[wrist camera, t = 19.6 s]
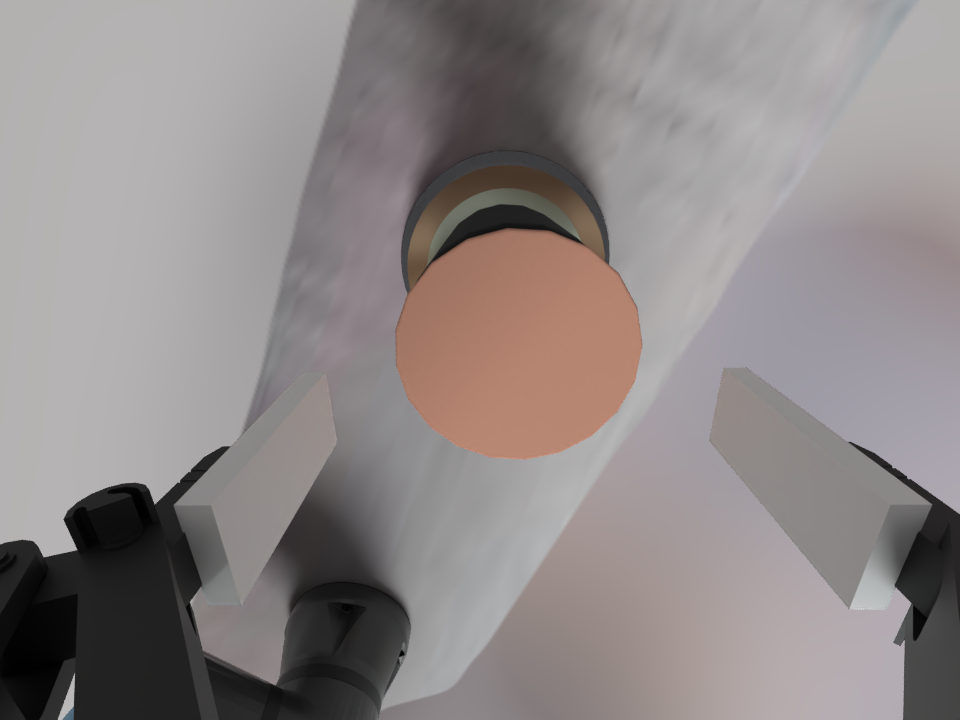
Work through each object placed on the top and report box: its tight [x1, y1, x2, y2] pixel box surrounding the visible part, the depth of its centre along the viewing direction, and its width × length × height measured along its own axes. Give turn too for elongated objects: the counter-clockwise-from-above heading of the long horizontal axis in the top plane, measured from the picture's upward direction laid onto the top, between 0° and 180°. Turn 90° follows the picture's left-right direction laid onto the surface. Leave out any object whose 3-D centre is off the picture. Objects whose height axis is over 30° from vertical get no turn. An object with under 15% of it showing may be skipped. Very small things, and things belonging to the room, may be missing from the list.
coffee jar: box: [396, 204, 642, 459], centre depth 28 cm, size 11×11×18 cm
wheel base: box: [401, 151, 609, 293], centre depth 39 cm, size 18×18×1 cm
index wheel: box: [407, 165, 605, 290], centre depth 35 cm, size 16×16×9 cm
